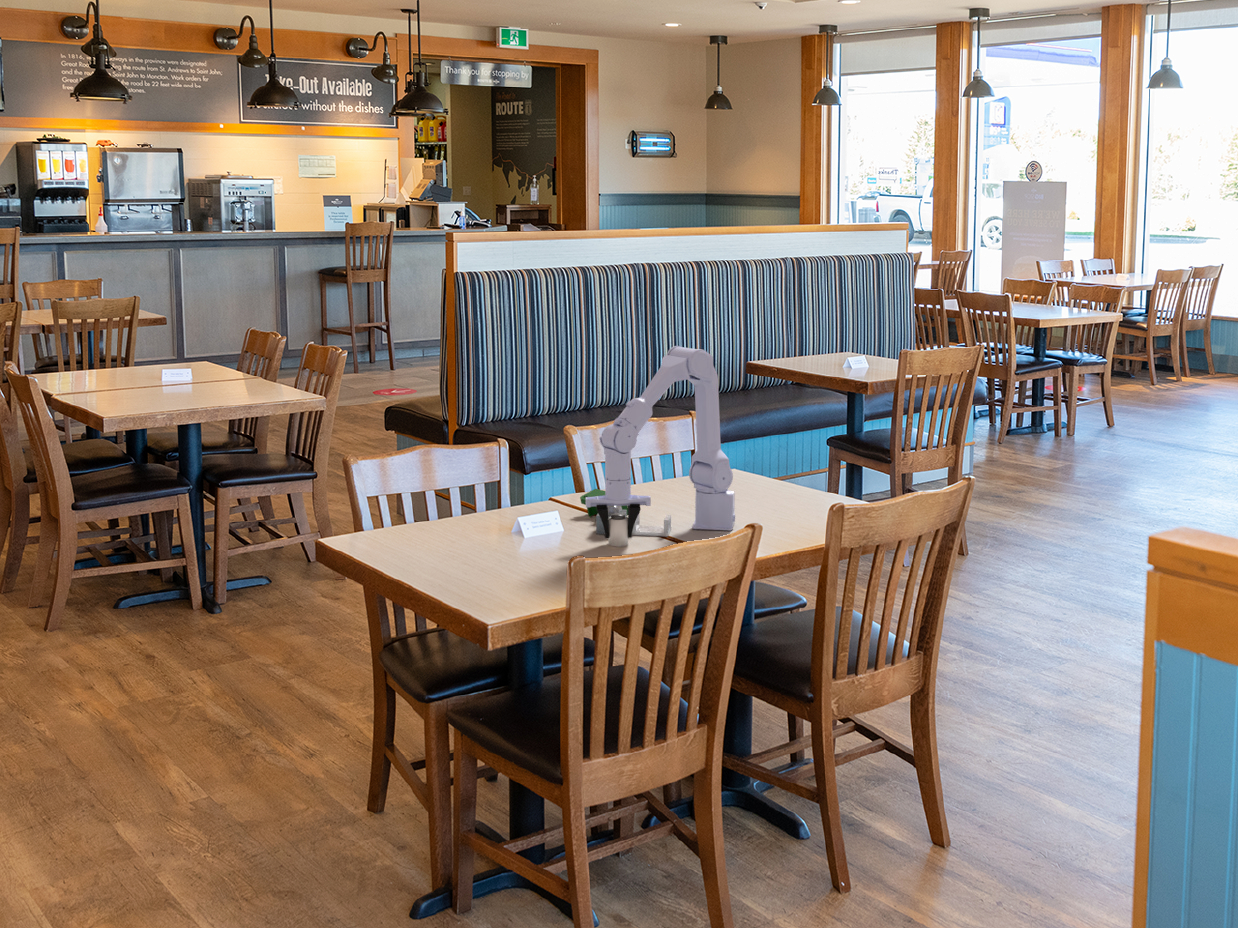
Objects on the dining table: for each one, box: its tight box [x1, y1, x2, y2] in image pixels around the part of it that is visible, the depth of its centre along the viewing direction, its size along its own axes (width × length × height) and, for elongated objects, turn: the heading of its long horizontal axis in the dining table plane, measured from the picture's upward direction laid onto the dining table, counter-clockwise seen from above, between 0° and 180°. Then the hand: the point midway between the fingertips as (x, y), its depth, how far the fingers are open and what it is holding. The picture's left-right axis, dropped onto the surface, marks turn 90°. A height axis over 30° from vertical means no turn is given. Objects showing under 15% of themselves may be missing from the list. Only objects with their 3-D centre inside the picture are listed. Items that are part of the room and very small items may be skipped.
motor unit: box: [595, 506, 672, 537], centre depth 287 cm, size 17×7×7 cm, turn 80°
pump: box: [607, 513, 629, 548], centre depth 277 cm, size 4×4×7 cm
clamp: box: [579, 488, 628, 518], centre depth 302 cm, size 12×6×9 cm, turn 35°
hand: (618, 536), depth 278 cm, fingers closed on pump, 4 cm apart
